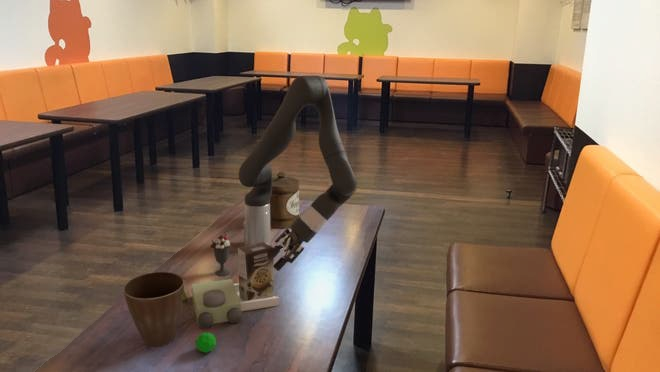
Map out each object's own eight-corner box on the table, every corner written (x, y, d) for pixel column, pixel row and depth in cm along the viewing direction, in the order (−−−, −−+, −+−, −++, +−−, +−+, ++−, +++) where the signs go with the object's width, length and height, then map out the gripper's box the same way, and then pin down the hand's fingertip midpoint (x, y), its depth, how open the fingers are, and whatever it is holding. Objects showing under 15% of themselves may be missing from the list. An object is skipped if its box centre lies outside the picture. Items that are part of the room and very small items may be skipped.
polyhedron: (192, 353, 138) (191, 336, 136) (203, 343, 142) (202, 327, 141) (209, 358, 136) (208, 341, 135) (220, 347, 140) (219, 331, 139)
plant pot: (155, 362, 134) (150, 304, 129) (116, 343, 141) (110, 288, 137) (199, 334, 146) (196, 280, 141) (161, 318, 153) (157, 267, 149)
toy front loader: (192, 296, 166) (190, 274, 164) (268, 285, 174) (268, 264, 171) (198, 329, 148) (197, 305, 146) (284, 315, 156) (283, 292, 154)
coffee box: (248, 304, 161) (246, 254, 157) (238, 296, 166) (236, 247, 162) (275, 296, 166) (274, 247, 162) (264, 288, 171) (263, 240, 167)
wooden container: (297, 228, 222) (297, 177, 216) (261, 228, 222) (260, 176, 216) (300, 216, 236) (300, 167, 230) (266, 215, 236) (265, 167, 230)
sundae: (236, 270, 184) (234, 229, 179) (224, 278, 178) (222, 236, 174) (220, 266, 186) (218, 226, 182) (208, 274, 181) (206, 232, 176)
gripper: (294, 209, 169) (258, 247, 169) (306, 224, 156) (268, 265, 156) (310, 223, 173) (275, 260, 172) (324, 239, 160) (286, 280, 159)
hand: (272, 263), depth 164 cm, fingers open, 8 cm apart
